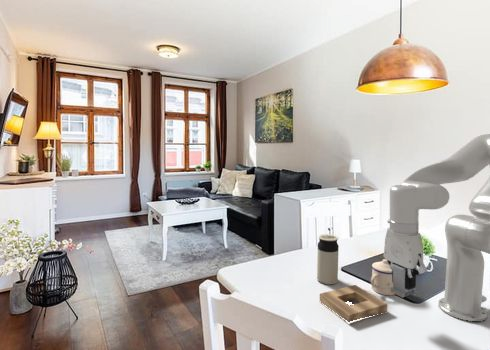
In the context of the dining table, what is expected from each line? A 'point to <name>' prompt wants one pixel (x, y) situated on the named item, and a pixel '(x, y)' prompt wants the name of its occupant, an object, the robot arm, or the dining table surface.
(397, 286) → the upright grey block
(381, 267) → the teacup with lid
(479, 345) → the dining table surface
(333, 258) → the travel mug
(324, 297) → the well block
